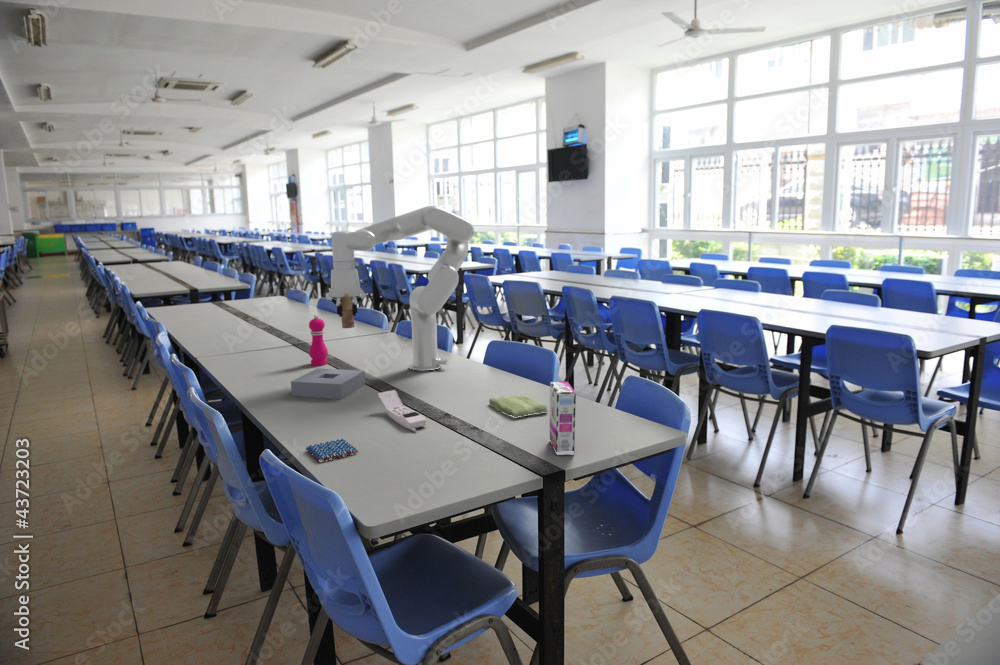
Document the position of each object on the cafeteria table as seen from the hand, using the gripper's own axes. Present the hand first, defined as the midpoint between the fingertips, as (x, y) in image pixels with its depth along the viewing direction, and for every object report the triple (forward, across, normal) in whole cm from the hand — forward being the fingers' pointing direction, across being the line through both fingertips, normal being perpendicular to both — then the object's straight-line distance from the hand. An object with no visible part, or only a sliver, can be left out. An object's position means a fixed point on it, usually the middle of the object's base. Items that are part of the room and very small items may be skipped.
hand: (347, 315), depth 240 cm
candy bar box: (+23, -46, +94) cm, 107 cm away
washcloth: (+24, -45, +59) cm, 78 cm away
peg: (+4, 0, 0) cm, 4 cm away
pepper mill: (+23, +11, -22) cm, 33 cm away
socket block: (+22, +9, +18) cm, 30 cm away
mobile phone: (+23, -10, +58) cm, 63 cm away
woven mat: (+23, +11, +78) cm, 82 cm away
